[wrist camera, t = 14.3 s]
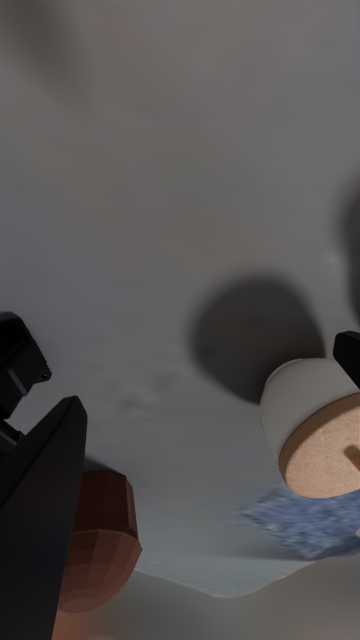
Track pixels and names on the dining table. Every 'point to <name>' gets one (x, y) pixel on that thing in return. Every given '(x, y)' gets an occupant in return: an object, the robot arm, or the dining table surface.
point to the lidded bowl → (313, 426)
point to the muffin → (100, 543)
